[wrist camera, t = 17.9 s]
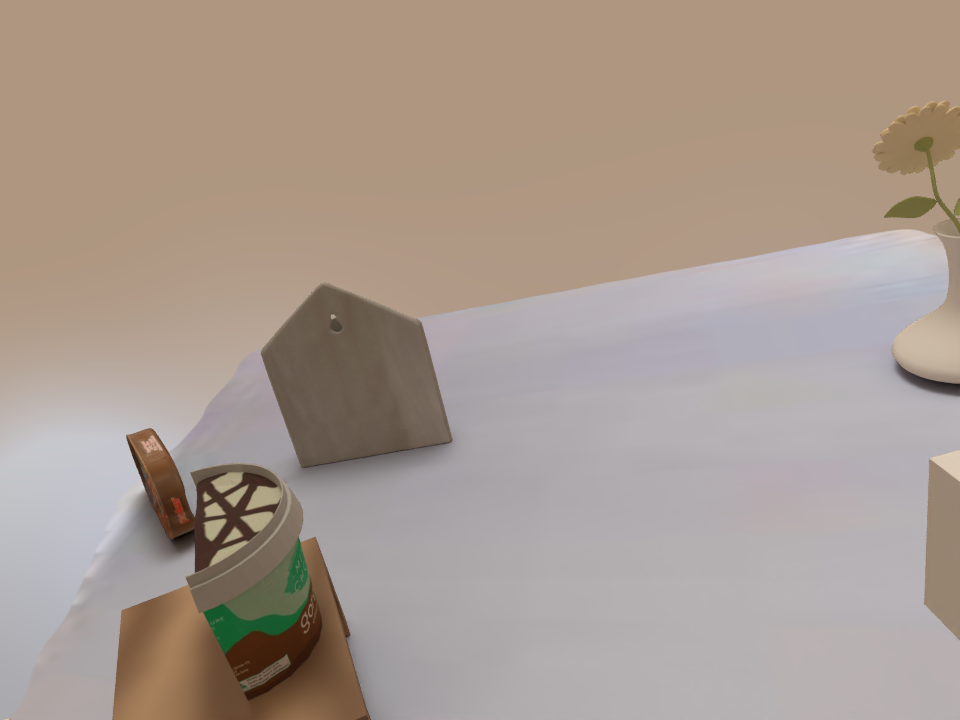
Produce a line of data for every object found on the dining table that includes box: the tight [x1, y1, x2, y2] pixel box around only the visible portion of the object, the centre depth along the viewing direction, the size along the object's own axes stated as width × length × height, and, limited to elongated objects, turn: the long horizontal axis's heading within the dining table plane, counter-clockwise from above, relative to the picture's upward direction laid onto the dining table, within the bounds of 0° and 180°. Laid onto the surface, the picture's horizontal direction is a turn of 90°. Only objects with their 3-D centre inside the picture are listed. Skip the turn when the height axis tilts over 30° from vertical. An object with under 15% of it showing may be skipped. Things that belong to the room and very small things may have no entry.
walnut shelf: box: [113, 537, 371, 720], centre depth 53 cm, size 14×18×8 cm
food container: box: [186, 463, 322, 701], centre depth 50 cm, size 12×6×10 cm, turn 17°
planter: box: [261, 283, 452, 468], centre depth 84 cm, size 16×8×19 cm, turn 89°
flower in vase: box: [872, 100, 960, 384], centre depth 73 cm, size 13×11×25 cm
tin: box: [126, 428, 195, 540], centre depth 81 cm, size 15×3×8 cm, turn 33°
